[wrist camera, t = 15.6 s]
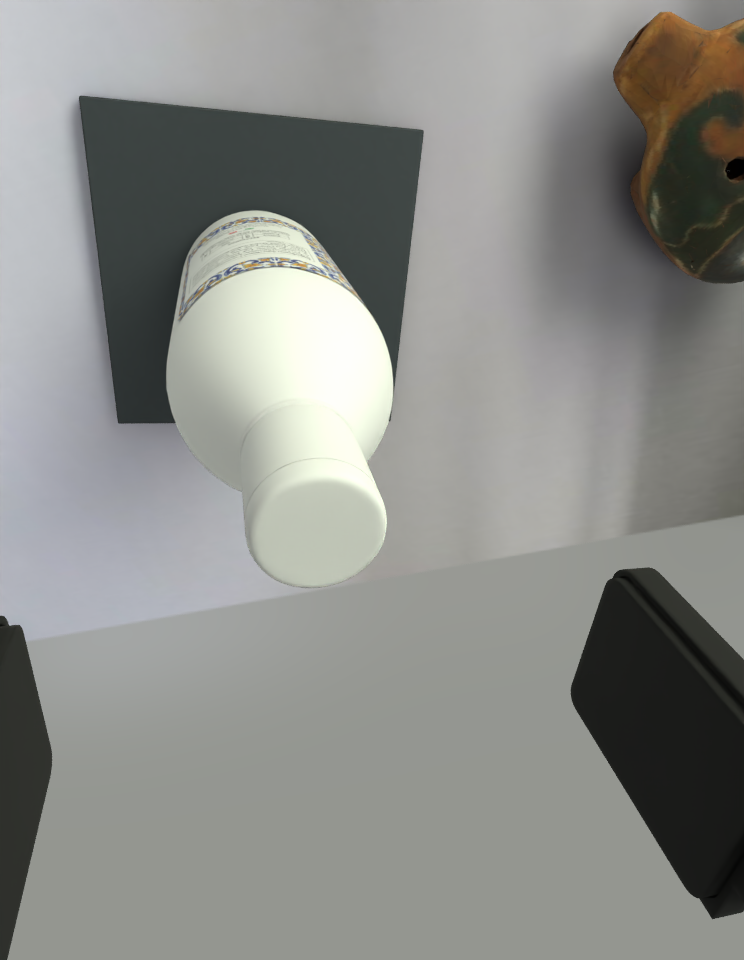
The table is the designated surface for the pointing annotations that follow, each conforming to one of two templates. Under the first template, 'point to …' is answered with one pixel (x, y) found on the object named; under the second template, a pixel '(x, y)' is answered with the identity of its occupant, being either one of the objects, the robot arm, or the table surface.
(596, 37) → the table surface
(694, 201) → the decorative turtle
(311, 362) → the bath foam
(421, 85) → the table surface
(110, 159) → the mat
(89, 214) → the table surface
